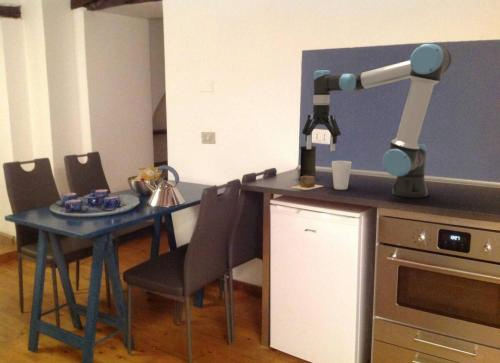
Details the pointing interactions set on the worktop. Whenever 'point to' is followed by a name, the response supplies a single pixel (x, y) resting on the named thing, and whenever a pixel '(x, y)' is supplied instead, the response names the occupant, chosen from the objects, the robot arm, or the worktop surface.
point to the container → (308, 161)
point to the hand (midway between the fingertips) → (320, 149)
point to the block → (307, 181)
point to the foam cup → (341, 174)
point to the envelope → (306, 188)
